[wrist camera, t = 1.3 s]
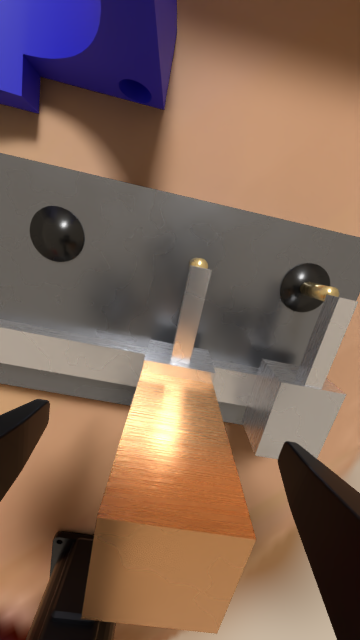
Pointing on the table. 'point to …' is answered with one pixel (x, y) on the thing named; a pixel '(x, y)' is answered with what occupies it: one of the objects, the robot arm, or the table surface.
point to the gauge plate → (171, 297)
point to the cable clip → (87, 48)
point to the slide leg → (171, 494)
